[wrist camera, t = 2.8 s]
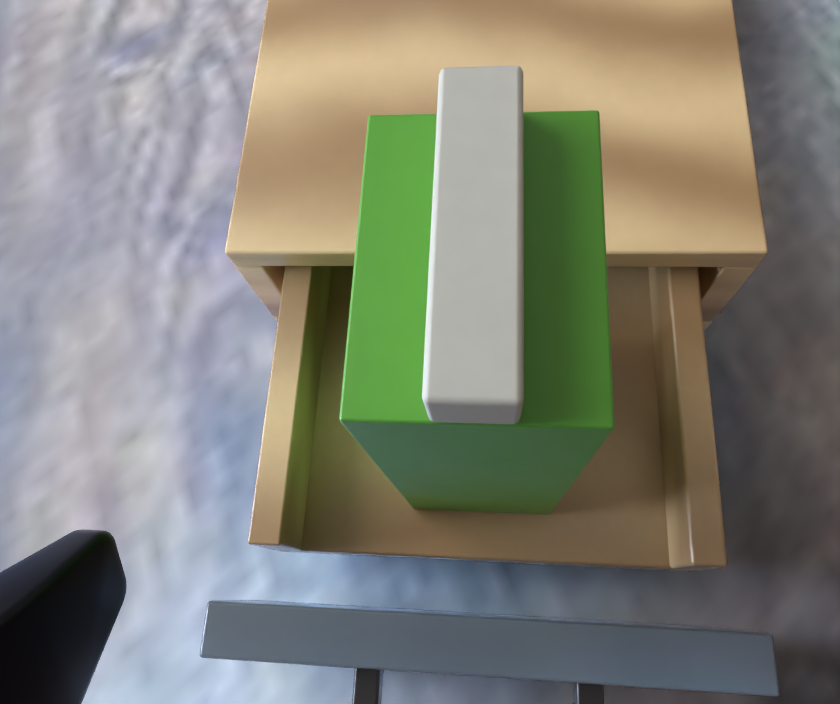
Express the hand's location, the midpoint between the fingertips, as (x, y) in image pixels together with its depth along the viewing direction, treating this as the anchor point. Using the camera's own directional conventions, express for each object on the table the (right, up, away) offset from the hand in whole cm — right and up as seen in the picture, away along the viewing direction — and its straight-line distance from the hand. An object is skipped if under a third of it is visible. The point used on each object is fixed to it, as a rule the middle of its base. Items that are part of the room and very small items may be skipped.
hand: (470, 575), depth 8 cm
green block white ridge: (+1, +1, +10) cm, 10 cm away
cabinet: (+2, +11, +16) cm, 20 cm away
